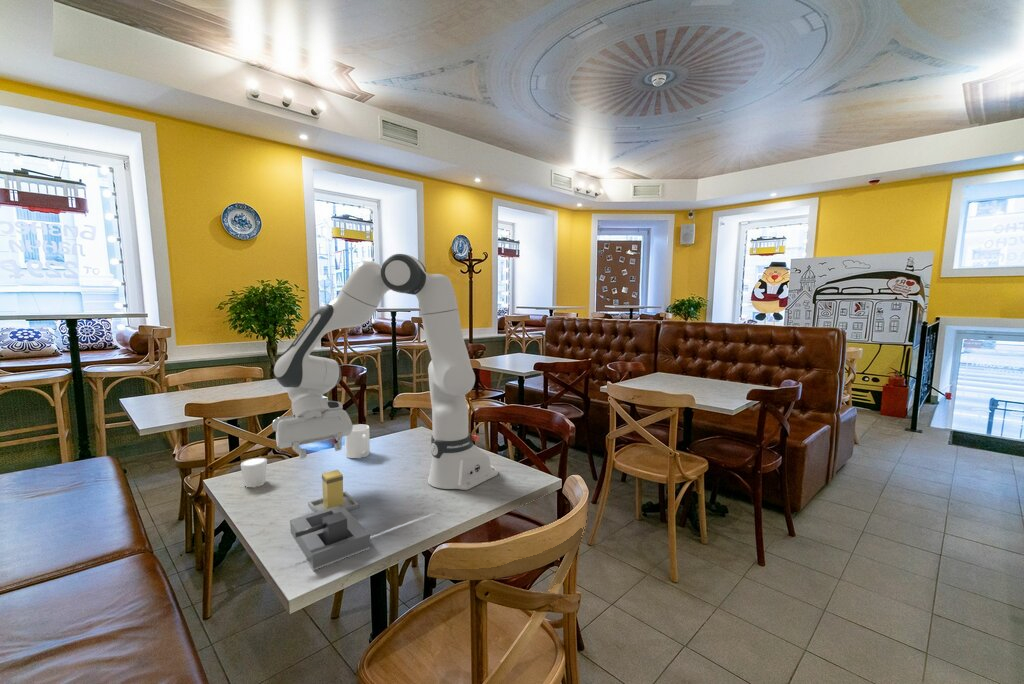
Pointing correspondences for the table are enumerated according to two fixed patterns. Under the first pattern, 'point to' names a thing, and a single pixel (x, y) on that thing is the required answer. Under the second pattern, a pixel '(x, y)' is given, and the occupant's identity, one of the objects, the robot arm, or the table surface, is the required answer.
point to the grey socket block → (329, 536)
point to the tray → (347, 499)
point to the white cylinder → (254, 472)
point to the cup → (358, 442)
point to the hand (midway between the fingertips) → (321, 453)
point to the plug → (332, 489)
